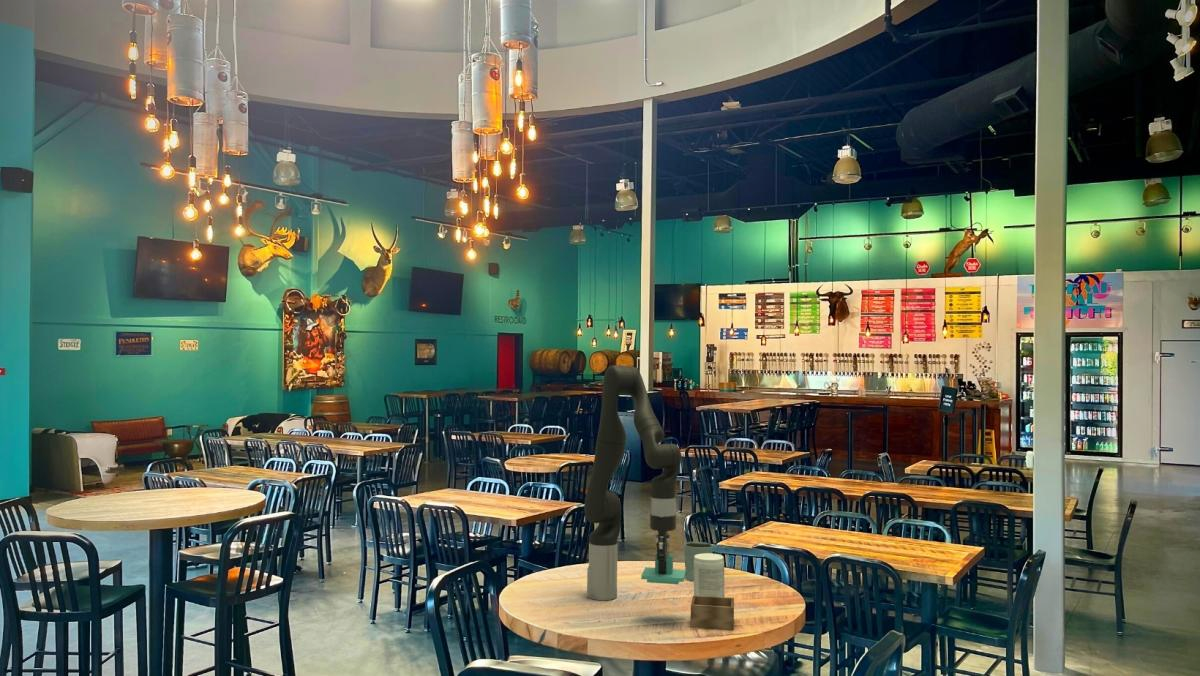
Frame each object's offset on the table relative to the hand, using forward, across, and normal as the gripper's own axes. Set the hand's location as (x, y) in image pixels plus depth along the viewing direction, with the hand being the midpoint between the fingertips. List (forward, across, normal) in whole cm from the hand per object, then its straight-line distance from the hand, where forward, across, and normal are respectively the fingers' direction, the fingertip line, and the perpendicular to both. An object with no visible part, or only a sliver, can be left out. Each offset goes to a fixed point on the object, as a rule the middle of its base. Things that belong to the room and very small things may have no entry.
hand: (662, 572), depth 240 cm
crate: (+15, 0, +14) cm, 21 cm away
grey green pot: (+15, -52, +8) cm, 55 cm away
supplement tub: (+15, -23, +12) cm, 30 cm away
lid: (+2, 0, 0) cm, 2 cm away
